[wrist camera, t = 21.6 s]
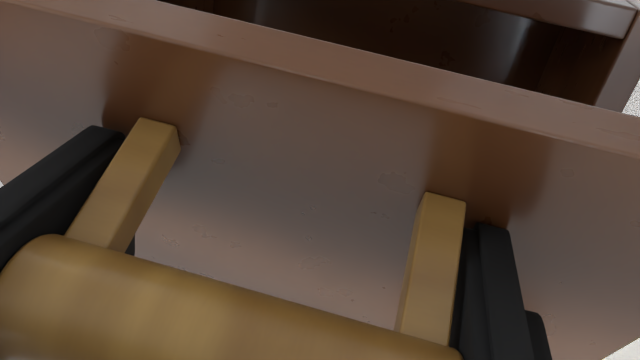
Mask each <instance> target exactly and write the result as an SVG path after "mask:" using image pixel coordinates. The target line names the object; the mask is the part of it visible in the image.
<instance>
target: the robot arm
mask: <svg viewBox="0 0 640 360" xmlns="http://www.w3.org/2000/svg"><path fill="white" fill-rule="evenodd" d="M125 139H126V137H125V135H124V134H123V133H122V132H119V131H115V130H111V129H107V128H103V127H99V126H95V125H91V126H89V127H87V128H86V129H84V130H83V131H81V132H80V133H78V134H77V135H76V136H74V137H73V138H71V139H70V140H68V141H67V142H66V143H64V144H63V145H61V146H60V147H58V148H57V149H56V150H54V151H53V152H51V153H50V154H48V155H47V156H45V157H44V158H43V159H41V160H40V161H38V162H37V163H35V164H34V165H33V166H31V167H30V168H28V169H27V170H25V171H24V172H23V173H21V174H20V175H18V176H17V177H15V178H14V179H13V180H11V181H10V182H8V183H7V184H5V185H4V186H2V187H1V188H0V273H1V271H2V270H3V268H4V267H5V265H6V264H7V263H8V261H9V260H10V259H11V258H12V256H13V255H14V254H15V253H16V252H17V251H18V250H19V249H20V248H21V247H22V246H24V245H25V244H26V243H27V242H29V241H31V240H32V239H34V238H36V237H38V236H41V235H46V234H59V235H63V236H64V234H65V233H66V231H67V230H68V228H69V226H70V225H71V223H72V222H73V220H74V219H75V217H76V216H77V214H78V212H79V211H80V209H81V208H82V206H83V205H84V203H85V202H86V200H87V198H88V197H89V195H90V194H91V192H92V191H93V189H94V188H95V186H96V184H97V183H98V181H99V180H100V178H101V177H102V175H103V173H104V172H105V170H106V169H107V167H108V166H109V164H110V163H111V161H112V159H113V158H114V156H115V155H116V153H117V152H118V150H119V149H120V147H121V145H122V144H123V142H124V141H125ZM125 254H129V255H132V256H134V255H135V235H134V237H133V238H132V240H131V242H130V244H129V246H128V248H127V249H126V251H125ZM449 347H452V348H454V349H456V350H457V351H458V352H460V353H461V355H462V357H463V360H552V356H551V352H550V347H549V343H548V339H547V334H546V330H545V326H544V322H543V320H542V317H541V316H540V315H539V314H538V313H536V312H532V311H528V310H525V309H524V303H523V298H522V293H521V288H520V283H519V278H518V273H517V268H516V263H515V258H514V252H513V247H512V242H511V237H510V233H509V231H508V230H506V229H502V228H498V227H494V226H490V225H486V224H482V223H478V222H477V223H476V224H475V226H474V227H473V229H470V228H466V227H464V228H463V237H462V245H461V253H460V261H459V269H458V278H457V286H456V294H455V302H454V310H453V319H452V327H451V335H450V343H449Z"/></svg>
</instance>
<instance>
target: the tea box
mask: <svg viewBox="0 0 640 360" xmlns="http://www.w3.org/2000/svg"><path fill="white" fill-rule="evenodd" d="M157 1H161V2H165V3H170V4H174V5H178V6H182V7H186V8H190V9H194V10H198V11H203V12H207V13H211V14H215V15H219V16H223V17H227V18H231V19H236V20H240V21H244V22H248V23H252V24H256V25H260V26H265V27H269V28H273V29H277V30H281V31H285V32H289V33H293V34H298V35H302V36H306V37H310V38H314V39H318V40H322V41H327V42H331V43H335V44H339V45H343V46H347V47H351V48H355V49H360V50H364V51H368V52H372V53H376V54H380V55H384V56H389V57H393V58H397V59H401V60H405V61H409V62H413V63H417V64H422V65H426V66H430V67H434V68H438V69H442V70H446V71H451V72H455V73H459V74H463V75H467V76H471V77H475V78H479V79H484V80H488V81H492V82H496V83H500V84H504V85H508V86H512V87H517V88H521V89H525V90H529V91H533V92H537V93H541V94H546V95H550V96H554V97H558V98H562V99H566V100H570V101H574V102H579V103H583V104H587V105H591V106H595V107H599V108H603V109H608V110H612V111H616V112H620V113H622V111H623V109H624V107H625V105H626V103H627V102H628V100H629V98H630V96H631V94H632V92H633V90H634V88H635V86H636V85H637V83H638V81H639V79H640V0H157Z"/></svg>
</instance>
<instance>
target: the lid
mask: <svg viewBox="0 0 640 360" xmlns="http://www.w3.org/2000/svg"><path fill="white" fill-rule="evenodd" d="M91 125H95V126H99V127H103V128H107V129H111V130H115V131H119V132H122V133H123V134H124V135H125V137H126V139H125V141H124V142H123V144H122V145H121V147H120V149H119V150H118V152H117V153H116V155H115V156H114V158H113V159H112V161H111V163H110V164H109V166H108V167H107V169H106V170H105V172H104V173H103V175H102V177H101V178H100V180H99V181H98V183H97V184H96V186H95V188H94V189H93V191H92V192H91V194H90V195H89V197H88V198H87V200H86V202H85V203H84V205H83V206H82V208H81V209H80V211H79V212H78V214H77V216H76V217H75V219H74V220H73V222H72V223H71V225H70V226H69V228H68V230H67V231H66V233H65V234H64V236H63V235H59V234H46V235H41V236H38V237H36V238H34V239H32V240H31V241H29V242H27V243H26V244H25V245H24V246H22V247H21V248H20V249H19V250H18V251H17V252H16V253H15V254H14V255H13V256H12V258H11V259H10V260H9V261H8V263H7V264H6V265H5V267H4V268H3V270H2V271H1V273H0V360H463V357H462V355H461V353H460V352H458V351H457V350H456V349H454V348H452V347H449V343H450V335H451V327H452V319H453V310H454V302H455V294H456V286H457V278H458V269H459V261H460V253H461V245H462V237H463V228H464V227H466V228H470V229H473V227H474V226H475V224H476V223H477V222H478V223H482V224H486V225H490V226H494V227H498V228H502V229H506V230H508V231H509V233H510V237H511V242H512V247H513V252H514V258H515V263H516V268H517V273H518V278H519V283H520V288H521V293H522V298H523V303H524V309H525V310H528V311H532V312H536V313H538V314H539V315H540V316H541V317H542V320H543V322H544V326H545V330H546V334H547V339H548V343H549V347H550V352H551V356H552V360H602V359H603V358H605V357H607V356H609V355H610V354H612V353H614V352H616V351H617V350H619V349H621V348H623V347H624V346H626V345H628V344H629V343H631V342H633V341H635V340H636V339H638V338H640V117H636V116H632V115H628V114H624V113H620V112H616V111H612V110H608V109H603V108H599V107H595V106H591V105H587V104H583V103H579V102H574V101H570V100H566V99H562V98H558V97H554V96H550V95H546V94H541V93H537V92H533V91H529V90H525V89H521V88H517V87H512V86H508V85H504V84H500V83H496V82H492V81H488V80H484V79H479V78H475V77H471V76H467V75H463V74H459V73H455V72H451V71H446V70H442V69H438V68H434V67H430V66H426V65H422V64H417V63H413V62H409V61H405V60H401V59H397V58H393V57H389V56H384V55H380V54H376V53H372V52H368V51H364V50H360V49H355V48H351V47H347V46H343V45H339V44H335V43H331V42H327V41H322V40H318V39H314V38H310V37H306V36H302V35H298V34H293V33H289V32H285V31H281V30H277V29H273V28H269V27H265V26H260V25H256V24H252V23H248V22H244V21H240V20H236V19H231V18H227V17H223V16H219V15H215V14H211V13H207V12H203V11H198V10H194V9H190V8H186V7H182V6H178V5H174V4H170V3H165V2H161V1H157V0H0V181H1V182H2V183H3V185H5V184H7V183H8V182H10V181H11V180H13V179H14V178H15V177H17V176H18V175H20V174H21V173H23V172H24V171H25V170H27V169H28V168H30V167H31V166H33V165H34V164H35V163H37V162H38V161H40V160H41V159H43V158H44V157H45V156H47V155H48V154H50V153H51V152H53V151H54V150H56V149H57V148H58V147H60V146H61V145H63V144H64V143H66V142H67V141H68V140H70V139H71V138H73V137H74V136H76V135H77V134H78V133H80V132H81V131H83V130H84V129H86V128H87V127H89V126H91ZM134 235H135V255H134V256H132V255H129V254H125V251H126V249H127V248H128V246H129V244H130V242H131V240H132V238H133V237H134Z"/></svg>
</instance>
